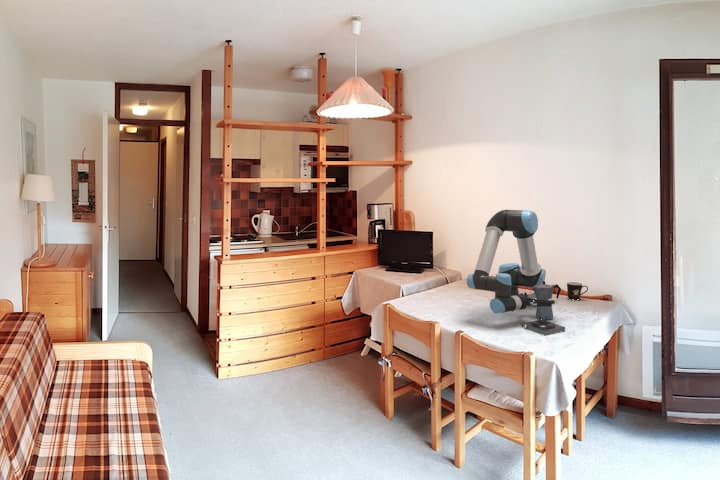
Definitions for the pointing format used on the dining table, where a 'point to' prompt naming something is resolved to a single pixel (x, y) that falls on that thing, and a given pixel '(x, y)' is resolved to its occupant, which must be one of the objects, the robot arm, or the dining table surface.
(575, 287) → the coffee mug
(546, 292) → the moka pot
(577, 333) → the dining table surface
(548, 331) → the hot plate
